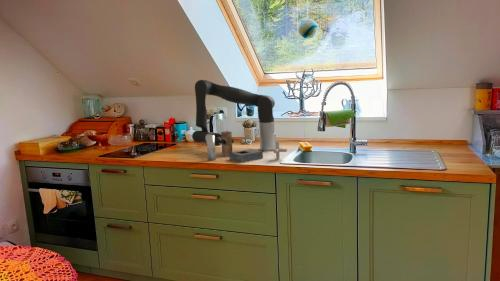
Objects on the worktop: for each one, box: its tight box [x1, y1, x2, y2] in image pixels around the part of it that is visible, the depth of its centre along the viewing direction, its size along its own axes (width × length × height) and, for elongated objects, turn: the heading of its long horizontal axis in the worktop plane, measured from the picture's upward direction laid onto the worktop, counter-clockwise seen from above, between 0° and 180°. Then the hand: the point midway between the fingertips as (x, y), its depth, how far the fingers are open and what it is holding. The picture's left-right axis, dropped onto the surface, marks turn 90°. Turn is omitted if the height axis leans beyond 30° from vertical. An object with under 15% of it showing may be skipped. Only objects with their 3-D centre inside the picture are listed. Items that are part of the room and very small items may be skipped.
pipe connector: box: [268, 140, 288, 160], centre depth 209 cm, size 10×10×10 cm
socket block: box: [228, 148, 264, 163], centre depth 213 cm, size 15×11×4 cm
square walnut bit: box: [220, 130, 233, 157], centre depth 223 cm, size 4×4×14 cm
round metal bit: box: [206, 135, 217, 162], centre depth 213 cm, size 4×4×14 cm
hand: (229, 141), depth 221 cm, fingers closed on square walnut bit, 4 cm apart
